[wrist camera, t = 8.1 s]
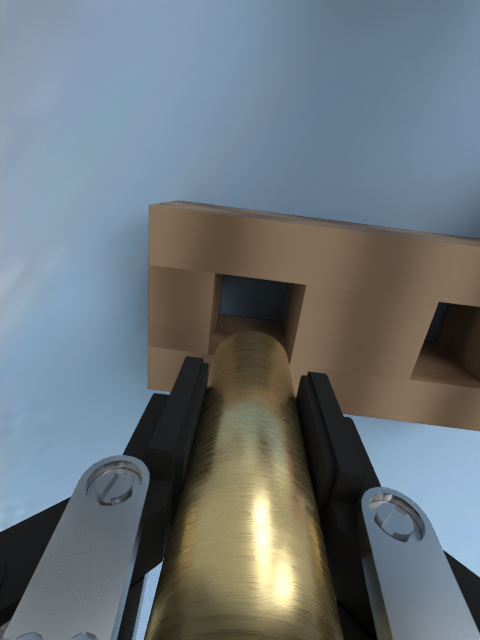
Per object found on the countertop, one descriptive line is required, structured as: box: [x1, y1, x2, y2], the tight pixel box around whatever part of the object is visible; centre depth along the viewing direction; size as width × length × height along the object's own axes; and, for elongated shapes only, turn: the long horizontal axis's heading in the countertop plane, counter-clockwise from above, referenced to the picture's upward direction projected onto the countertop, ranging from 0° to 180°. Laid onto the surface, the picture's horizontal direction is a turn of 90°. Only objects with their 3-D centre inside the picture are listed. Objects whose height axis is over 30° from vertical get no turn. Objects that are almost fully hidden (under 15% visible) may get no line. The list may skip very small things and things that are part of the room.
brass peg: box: [144, 331, 344, 640], centre depth 8 cm, size 3×3×10 cm
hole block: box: [148, 201, 480, 431], centre depth 19 cm, size 22×10×6 cm, turn 83°
